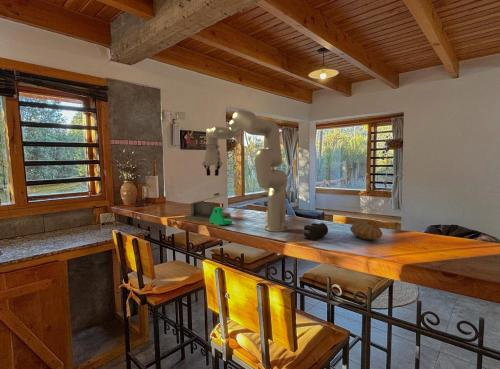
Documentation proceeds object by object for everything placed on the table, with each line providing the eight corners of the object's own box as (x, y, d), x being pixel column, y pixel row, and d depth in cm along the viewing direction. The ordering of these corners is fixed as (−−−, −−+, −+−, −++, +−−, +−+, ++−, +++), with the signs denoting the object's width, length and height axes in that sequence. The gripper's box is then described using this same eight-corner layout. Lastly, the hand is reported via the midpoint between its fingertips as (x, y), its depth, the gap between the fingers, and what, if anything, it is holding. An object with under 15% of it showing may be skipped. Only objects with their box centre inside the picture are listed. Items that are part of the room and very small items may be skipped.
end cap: (316, 242, 124) (317, 227, 124) (303, 239, 129) (303, 224, 129) (328, 238, 131) (328, 223, 131) (315, 235, 136) (315, 221, 136)
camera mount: (233, 224, 162) (232, 207, 161) (223, 226, 156) (223, 208, 156) (219, 221, 170) (218, 205, 169) (209, 223, 164) (209, 206, 164)
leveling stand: (230, 216, 187) (230, 201, 187) (214, 221, 169) (213, 205, 169) (202, 213, 197) (202, 200, 196) (184, 219, 179) (184, 203, 178)
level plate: (224, 195, 184) (224, 191, 185) (213, 197, 172) (212, 193, 172) (203, 200, 192) (203, 197, 192) (191, 203, 179) (190, 199, 179)
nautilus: (362, 232, 144) (393, 239, 133) (342, 237, 129) (375, 245, 118) (364, 217, 143) (395, 222, 133) (344, 220, 128) (377, 227, 118)
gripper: (226, 147, 181) (226, 175, 183) (204, 148, 189) (204, 175, 190) (220, 147, 175) (220, 176, 176) (197, 147, 182) (198, 175, 183)
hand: (212, 175), depth 183 cm, fingers open, 5 cm apart
